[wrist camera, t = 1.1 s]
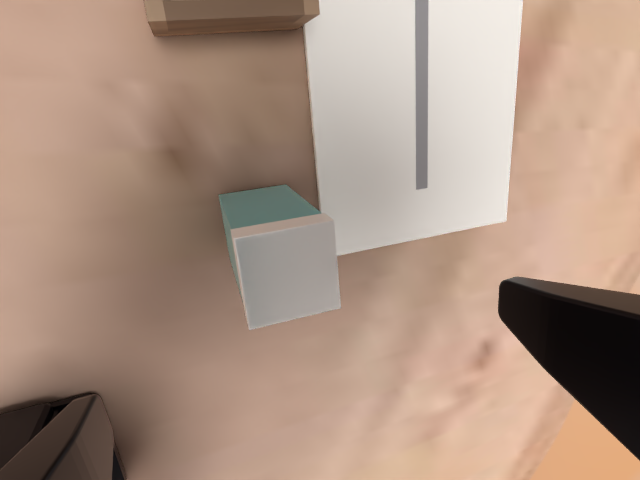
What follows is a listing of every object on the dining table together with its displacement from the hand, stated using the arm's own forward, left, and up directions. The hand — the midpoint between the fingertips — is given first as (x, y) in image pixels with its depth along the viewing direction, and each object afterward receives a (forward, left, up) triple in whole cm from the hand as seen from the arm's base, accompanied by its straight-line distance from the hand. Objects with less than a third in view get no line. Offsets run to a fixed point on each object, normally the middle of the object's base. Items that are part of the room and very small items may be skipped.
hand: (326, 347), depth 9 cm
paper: (+5, -10, -13) cm, 17 cm away
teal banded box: (0, 0, -13) cm, 13 cm away
